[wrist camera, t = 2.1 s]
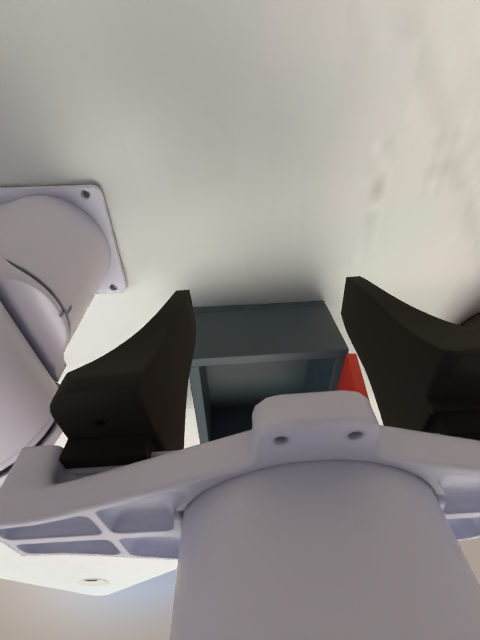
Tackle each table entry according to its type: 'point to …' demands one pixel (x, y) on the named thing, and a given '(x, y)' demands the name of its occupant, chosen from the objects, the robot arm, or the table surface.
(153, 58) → the table surface
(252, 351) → the dark grey open box
